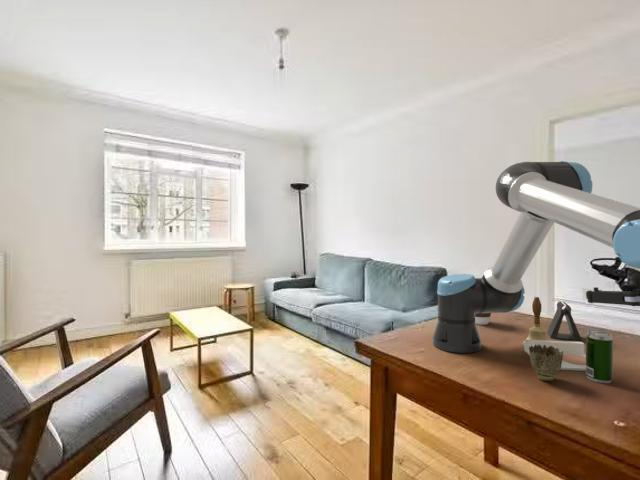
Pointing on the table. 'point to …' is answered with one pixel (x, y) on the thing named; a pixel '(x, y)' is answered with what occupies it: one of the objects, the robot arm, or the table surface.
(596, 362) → the beer can
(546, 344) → the tray
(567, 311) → the phone stand
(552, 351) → the cup
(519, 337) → the table surface
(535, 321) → the hand bell
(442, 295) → the robot arm
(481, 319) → the coffee cup
